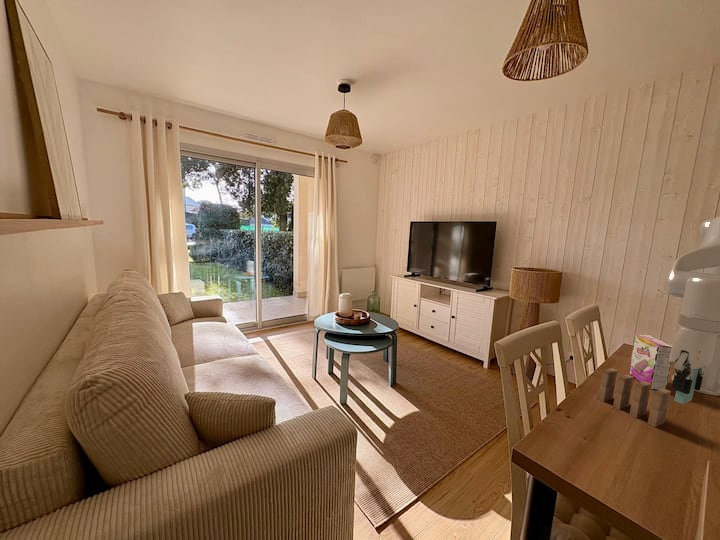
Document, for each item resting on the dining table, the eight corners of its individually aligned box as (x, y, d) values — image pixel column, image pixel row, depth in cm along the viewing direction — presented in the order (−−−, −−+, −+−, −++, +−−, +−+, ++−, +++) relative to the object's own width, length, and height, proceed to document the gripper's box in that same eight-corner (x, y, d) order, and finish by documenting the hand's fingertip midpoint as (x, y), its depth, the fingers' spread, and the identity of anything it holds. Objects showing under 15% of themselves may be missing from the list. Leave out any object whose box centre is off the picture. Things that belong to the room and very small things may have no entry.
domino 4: (656, 419, 84) (663, 388, 83) (664, 423, 83) (670, 391, 81) (647, 423, 82) (654, 391, 81) (654, 427, 81) (661, 394, 79)
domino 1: (606, 395, 96) (611, 368, 94) (612, 398, 94) (617, 370, 93) (597, 398, 94) (602, 370, 92) (603, 401, 92) (608, 372, 91)
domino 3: (638, 411, 88) (644, 380, 86) (645, 414, 87) (651, 383, 85) (629, 414, 86) (635, 383, 85) (636, 418, 85) (642, 386, 83)
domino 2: (622, 403, 92) (627, 374, 90) (628, 406, 90) (633, 376, 89) (612, 406, 90) (618, 376, 88) (619, 409, 89) (624, 379, 87)
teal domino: (683, 397, 79) (690, 362, 77) (691, 400, 77) (699, 365, 76) (674, 400, 77) (681, 365, 75) (682, 404, 75) (690, 368, 74)
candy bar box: (627, 373, 111) (634, 333, 109) (642, 375, 110) (650, 334, 108) (649, 389, 100) (658, 345, 98) (666, 391, 99) (675, 346, 97)
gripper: (695, 316, 80) (681, 377, 83) (663, 322, 74) (650, 387, 77) (737, 325, 74) (721, 391, 76) (706, 332, 67) (690, 403, 70)
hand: (685, 388), depth 76 cm, fingers closed on teal domino, 4 cm apart
